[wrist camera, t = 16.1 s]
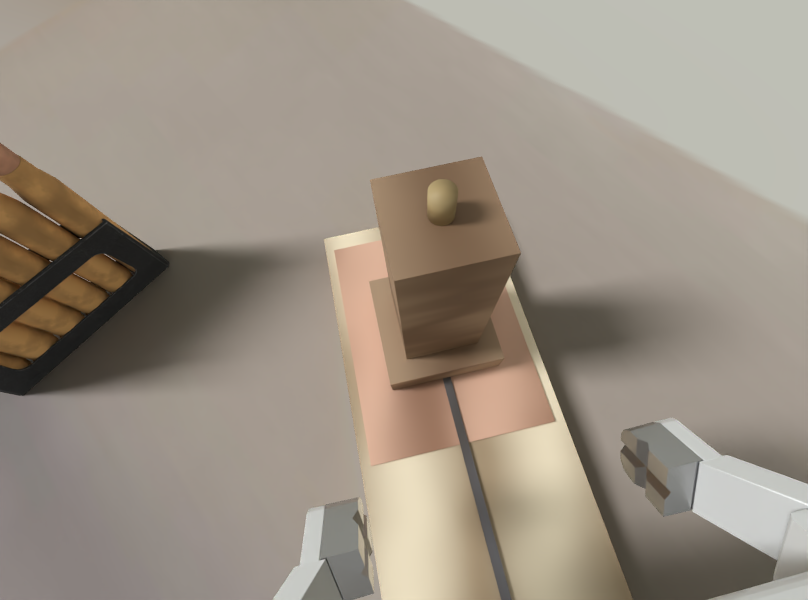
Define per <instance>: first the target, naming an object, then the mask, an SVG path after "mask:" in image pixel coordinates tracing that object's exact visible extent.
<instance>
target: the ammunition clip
mask: <svg viewBox="0 0 808 600" xmlns="http://www.w3.org/2000/svg"><path fill="white" fill-rule="evenodd" d="M0 181H2V182H3V183H5V184H6V185H8V186H9V187H10V188H11V189H12V190H13V191H14V192H15V193H17V194H18V195H19V196H20V197H21V198H22V199H23V200H24V201H26V202H27V203H28V204H30V205H32V206H33V207H35V208H36V209H38V210H39V211H41V212H42V213H44V214H45V215H47V216H48V217H50V218H51V219H53V220H55V221H56V222H58V223H59V224H61V225H60V226H58V225H57V224H55V223H54V222H52V221H51V220H49V219H47V218H46V217H44V216H43V215H41V214H39V213H38V212H36V211H35V210H33V209H31V208H30V207H28V206H27V205H25V204H23V203H22V202H20V201H18V200H16V199H14V198H12V197H9V196H7V195H5V194H2V193H0V233H1V234H3V235H5V236H6V237H8V238H10V239H12V240H14V241H16V242H18V243H19V244H21V245H23V246H25V247H27V248H29V250H27V249H25V248H23V247H21V246H19V245H18V244H16V243H14V242H12V241H10V240H8V239H6V238H4V237H2V236H0V392H5V393H9V394H14V395H19V396H20V395H24V394H25V393H26V392H27V391H29V390H30V389H31V388H32V387H33V386H34V385H35V384H37V383H38V382H39V381H40V380H41V379H42V378H43V377H44V376H46V375H47V374H48V373H49V372H50V371H51V370H52V369H53V368H55V367H56V366H57V365H58V364H59V363H60V362H61V361H62V360H64V359H65V358H66V357H67V356H68V355H69V354H70V353H71V352H73V351H74V350H75V349H76V348H77V347H78V346H79V345H80V344H82V343H83V342H84V341H85V340H86V339H87V338H88V337H89V336H91V335H92V334H93V333H94V332H95V331H96V330H97V329H99V328H100V327H101V326H102V325H103V324H104V323H105V322H106V321H108V320H109V319H110V318H111V317H112V316H113V315H114V314H115V313H117V312H118V311H119V310H120V309H121V308H122V307H123V306H124V305H126V304H127V303H128V302H129V301H130V300H131V299H132V298H133V297H135V296H136V295H137V294H138V293H139V292H140V291H141V290H142V289H144V288H145V287H146V286H147V285H148V284H149V283H150V282H152V281H153V280H154V279H155V278H156V277H157V276H158V275H159V274H161V273H162V272H163V271H164V270H165V269H166V268H167V267H168V266H169V262H168V261H167V260H166V259H164V258H163V257H162V256H161V255H160V254H159V253H158V252H156V251H155V250H154V249H153V248H151V247H150V246H148V245H147V244H145V243H144V242H143V241H141V240H140V239H138V238H137V237H135V236H134V235H132V234H131V233H129V232H128V231H126V230H125V229H123V228H122V227H121V226H119V225H118V224H116V223H115V222H113V221H112V220H111V219H109V218H108V217H107V216H105V215H104V214H103V213H102V212H100V211H99V210H98V209H96V208H95V207H94V206H92V205H91V204H90V203H88V202H87V201H86V200H84V199H83V198H82V197H80V196H79V195H78V194H76V193H75V192H74V191H72V190H71V189H70V188H68V187H67V186H66V185H64V184H63V183H62V182H60V181H59V180H58V179H56V178H55V177H53V176H51V175H49V174H47V173H46V172H44V171H42V170H40V169H38V168H36V167H35V166H33V165H32V164H30V163H29V162H28V161H26V160H25V159H23V158H22V157H20V156H19V155H17V154H15V153H14V152H12V151H11V150H9V149H8V148H7V147H5V146H4V145H3V144H1V143H0ZM79 238H82V239H79ZM104 254H107V255H108V256H110V257H111V258H113V259H114V260H116V261H114V260H112V259H111V258H109V257H108V256H106V255H104ZM49 260H51V261H53V262H50V261H49ZM73 273H75V274H77V275H79V276H81V277H83V278H84V279H83V278H81V277H79V276H77V275H75V274H73ZM85 279H86V280H85ZM87 280H88V281H87ZM89 281H90V282H89ZM20 285H21V286H20Z"/></svg>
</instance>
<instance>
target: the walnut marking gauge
mask: <svg viewBox="0 0 808 600" xmlns="http://www.w3.org/2000/svg"><path fill="white" fill-rule="evenodd" d="M370 182H371V188H372V193H373V198H374V204H375V209H376V214H377V219H378V225H379V230H380V235H381V241H382V246H383V251H384V256H385V262H386V267H387V272H388V277H386V278H382V279H377V280H373V281H369V284H370V288H371V293H372V298H373V303H374V308H375V313H376V317H377V322H378V327H379V332H380V337H381V342H382V346H383V351H384V356H385V361H386V366H387V371H388V375H389V380H390V385H391V387H392V390H396V389H400V388H405V387H409V386H413V385H417V384H422V383H426V382H430V381H434V380H439V379H443V378H447V377H451V376H456V375H460V374H464V373H469V372H473V371H477V370H481V369H486V368H490V367H494V366H498V365H499V364H500V363H501V362H502V361H503V359H504V355H503V352H502V349H501V346H500V343H499V340H498V337H497V335H496V332H495V329H494V326H493V323H492V320H491V317H490V316H491V314H492V312H493V310H494V308H495V306H496V304H497V302H498V300H499V298H500V296H501V294H502V291H503V289H504V287H505V285H506V283H507V281H508V279H509V277H510V275H511V273H512V271H513V269H514V266H515V264H516V262H517V260H518V258H519V256H520V254H521V252H520V249H519V247H518V244H517V242H516V240H515V237H514V235H513V232H512V230H511V227H510V225H509V222H508V220H507V217H506V215H505V212H504V210H503V207H502V205H501V202H500V200H499V198H498V195H497V193H496V190H495V188H494V185H493V183H492V180H491V178H490V175H489V173H488V170H487V168H486V165H485V163H484V160H483V158H482V157H477V158H473V159H468V160H463V161H458V162H453V163H449V164H444V165H439V166H434V167H429V168H425V169H420V170H415V171H410V172H405V173H401V174H396V175H391V176H386V177H381V178H377V179H372V180H370Z"/></svg>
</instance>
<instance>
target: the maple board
mask: <svg viewBox="0 0 808 600" xmlns="http://www.w3.org/2000/svg"><path fill="white" fill-rule="evenodd" d="M324 242H325V248H326V255H327V261H328V267H329V273H330V279H331V286H332V292H333V298H334V304H335V311H336V317H337V323H338V329H339V335H340V342H341V348H342V354H343V360H344V367H345V373H346V379H347V385H348V391H349V398H350V404H351V410H352V416H353V422H354V429H355V435H356V441H357V447H358V454H359V460H360V466H361V472H362V478H363V485H364V491H365V497H366V503H367V510H368V516H369V522H370V528H371V534H372V541H373V547H374V553H375V559H376V565H377V572H378V578H379V584H380V590H381V597H382V600H633V598H632V595H631V593H630V590H629V587H628V585H627V582H626V580H625V577H624V574H623V572H622V569H621V566H620V564H619V561H618V558H617V556H616V553H615V551H614V548H613V545H612V543H611V540H610V537H609V535H608V532H607V530H606V527H605V524H604V522H603V519H602V516H601V514H600V511H599V509H598V506H597V503H596V501H595V498H594V495H593V493H592V490H591V487H590V485H589V482H588V480H587V477H586V474H585V472H584V469H583V466H582V464H581V461H580V459H579V456H578V453H577V451H576V448H575V445H574V443H573V440H572V437H571V435H570V432H569V430H568V427H567V424H566V422H565V419H564V416H563V414H562V411H561V409H560V406H559V403H558V401H557V398H556V395H555V393H554V390H553V388H552V385H551V382H550V380H549V377H548V374H547V372H546V369H545V366H544V364H543V361H542V359H541V356H540V353H539V351H538V348H537V345H536V343H535V340H534V338H533V335H532V332H531V330H530V327H529V324H528V322H527V319H526V317H525V314H524V311H523V309H522V306H521V303H520V301H519V298H518V295H517V293H516V290H515V288H514V285H513V282H512V280H511V277H509V279H508V281H507V283H506V285H505V287H504V289H503V291H502V294H501V296H500V298H499V300H498V302H497V304H496V306H495V308H494V310H493V312H492V314H491V316H490V317H491V320H492V323H493V326H494V329H495V332H496V335H497V337H498V340H499V343H500V346H501V349H502V352H503V355H504V359H503V361H502V362H501V363H500V364H499V365H498V366H494V367H490V368H486V369H481V370H477V371H473V372H469V373H464V374H460V375H456V376H451V377H447V378H443V379H439V380H434V381H430V382H426V383H422V384H417V385H413V386H409V387H405V388H400V389H396V390H392V387H391V385H390V380H389V375H388V371H387V366H386V361H385V356H384V351H383V346H382V342H381V337H380V332H379V327H378V322H377V317H376V313H375V308H374V303H373V298H372V293H371V288H370V284H369V281H373V280H377V279H382V278H386V277H388V272H387V267H386V262H385V256H384V251H383V246H382V241H381V235H380V230H379V227H377V228H373V229H368V230H363V231H359V232H354V233H349V234H345V235H340V236H335V237H331V238H326V239H324Z"/></svg>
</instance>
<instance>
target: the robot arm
mask: <svg viewBox="0 0 808 600" xmlns="http://www.w3.org/2000/svg"><path fill="white" fill-rule="evenodd" d="M621 441H622V442H623V443H624V444H625V446H624V447H623V449H622V450H621V462H622V465H623V468H624V470H625V472H626V473H627V475H628V477H629V478H630V479H631V480H632V481H633V483H634V484H636V485H638V486H640V487H642V488H645V496H646V498H647V499H648V500H649V501H650V502H651V503H652V504H653V506H654V507H655V508H656V509H657V510H658V511H659V513H660V514H661V515H662V516H663V517H664V516H668V515H673V514H677V513H681V512H686V511H690V510H693V511H692V512H694V513H696V514H697V515H699V516H701V517H703V518H704V519H706V520H708V521H709V522H711V523H713V524H715V525H716V526H718V527H720V528H722V529H723V530H725V531H727V532H729V533H730V534H732V535H734V536H735V537H737V538H739V539H741V540H742V541H744V542H746V543H748V544H749V545H751V546H753V547H755V548H756V549H758V550H760V551H761V552H763V553H765V554H767V555H768V556H770V557H772V558H774V559H775V560H777V564H776V567H775V571H774V574H773V581H772V582H768V583H765V584H761V585H758V586H754V587H750V588H747V589H743V590H740V591H736V592H733V593H729V594H725V595H722V596H718V597H715V598H711V599H707V600H808V484H806V483H804V482H801V481H798V480H795V479H793V478H790V477H787V476H784V475H782V474H779V473H776V472H773V471H770V470H768V469H765V468H762V467H759V466H757V465H754V464H751V463H748V462H746V461H743V460H740V459H737V458H734V457H732V456H729V455H724V456H722V455H720V454H719V453H718V452H717V451H715V450H714V449H713V448H712V447H710V446H709V445H708V444H707V443H705V442H704V441H703V440H702V439H700V438H699V437H698V436H697V435H695V434H694V433H693V432H692V431H690V430H689V429H688V428H687V427H685V426H684V425H683V424H681V423H680V422H679V421H678V420H676V419H674V418H668V419H664V420H660V421H656V422H651V423H647V424H644V425H640V426H636V427H632V428H629V429H625V430H623V432H622V433H621ZM371 553H372V539H371V532H370V526H369V522H368V519H367V516H366V515H364V514H363V504H362V501H361V498H360V497H357V498H353V499H349V500H344V501H340V502H335V503H331V504H326V505H323V506H318V507H314V508H310V509H309V510H308V513H307V516H306V523H305V531H304V538H303V546H302V553H301V560H300V565H299V566H296V567H294V569H293V570H292V572H291V573H290V575H289V576H288V578H287V579H286V581H285V582H284V583H283V585H282V586H281V588H280V589H279V591H278V592H277V594H276V595H275V597H274V598H273V600H354V599H357V598H360V597H364V596H367V595H370V594H374V575H373V566H372V563H371V560H370V555H371Z"/></svg>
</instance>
